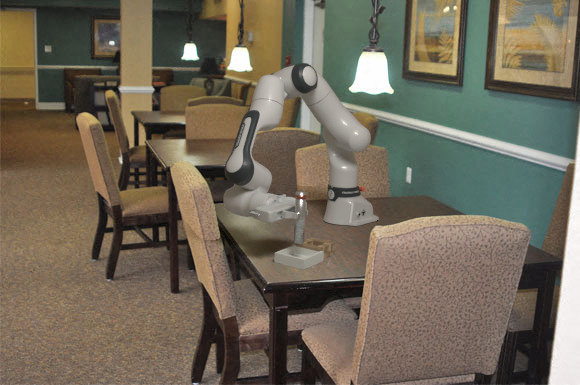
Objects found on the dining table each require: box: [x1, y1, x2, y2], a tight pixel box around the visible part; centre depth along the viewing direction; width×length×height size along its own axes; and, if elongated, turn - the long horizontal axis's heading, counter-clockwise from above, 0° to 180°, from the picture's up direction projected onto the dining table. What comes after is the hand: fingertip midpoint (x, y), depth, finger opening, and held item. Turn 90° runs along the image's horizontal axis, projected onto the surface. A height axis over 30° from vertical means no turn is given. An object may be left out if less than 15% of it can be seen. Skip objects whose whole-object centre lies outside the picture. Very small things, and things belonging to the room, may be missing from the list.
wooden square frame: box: [295, 237, 335, 260], centre depth 212 cm, size 9×9×4 cm
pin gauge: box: [293, 190, 307, 244], centre depth 203 cm, size 3×3×16 cm
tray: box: [273, 244, 324, 271], centre depth 205 cm, size 11×11×3 cm
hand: (302, 214), depth 202 cm, fingers closed on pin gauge, 3 cm apart
